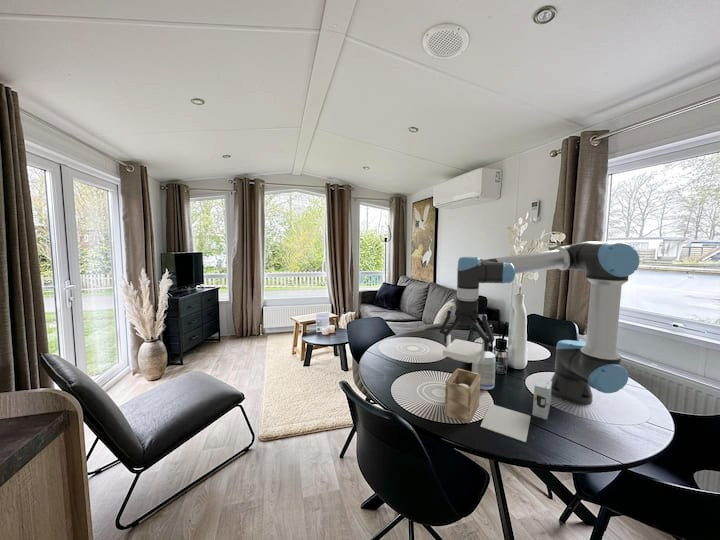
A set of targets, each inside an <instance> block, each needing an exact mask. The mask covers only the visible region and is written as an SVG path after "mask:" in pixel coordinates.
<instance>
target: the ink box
mask: <svg viewBox="0 0 720 540" xmlns="http://www.w3.org/2000/svg"><path fill="white" fill-rule="evenodd" d="M551 388H552V381H551V380H549V379H546V378H545V379H544V378H541V377H537V380H536V381H535V384H534V389H533V401H532V402H533V403H532V413H531V414H532V416H534V417H537V418H540V419H544V420H548V418H549V413H550V409H551V399H552V394H551Z"/></svg>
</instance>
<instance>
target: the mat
mask: <svg viewBox="0 0 720 540" xmlns="http://www.w3.org/2000/svg"><path fill="white" fill-rule="evenodd" d="M531 417H532V416H531V415H529V414H527V413H526V414H525V413H523V412H519V411H516V410H512V409H508V408H507V407H503V406H499V405H497V404H494V403H493V404H492V403H490V404H489V406H488V408H487V410H486V412H485V415H484V417H483V419H482V421H481V424H480V428H483V429H486V430H489V431H491V432H494V433H497V434H500V435H502V436H506V437H508V438H511V439H514V440H517V441H520V442H523V443H525V444H526V443H527V439H528V438H527V437H528V434H529V428H530V423H531Z"/></svg>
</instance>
